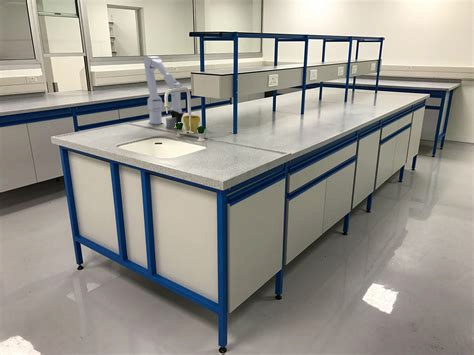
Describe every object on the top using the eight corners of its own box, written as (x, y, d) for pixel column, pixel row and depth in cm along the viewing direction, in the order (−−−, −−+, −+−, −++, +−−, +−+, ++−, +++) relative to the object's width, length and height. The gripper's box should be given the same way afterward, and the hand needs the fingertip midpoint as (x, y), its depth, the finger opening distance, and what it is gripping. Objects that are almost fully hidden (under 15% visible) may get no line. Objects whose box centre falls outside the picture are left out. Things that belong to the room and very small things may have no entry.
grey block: (166, 126, 247) (166, 117, 246) (178, 125, 251) (178, 116, 250) (169, 128, 243) (169, 119, 241) (181, 127, 247) (181, 118, 245)
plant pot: (189, 134, 226) (188, 118, 223) (180, 131, 233) (179, 116, 230) (203, 132, 232) (203, 117, 229) (194, 129, 240) (194, 114, 236)
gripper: (166, 100, 247) (167, 121, 251) (174, 103, 235) (175, 125, 239) (176, 100, 250) (177, 120, 255) (184, 102, 238) (185, 124, 243)
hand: (176, 122), depth 247 cm, fingers open, 7 cm apart
